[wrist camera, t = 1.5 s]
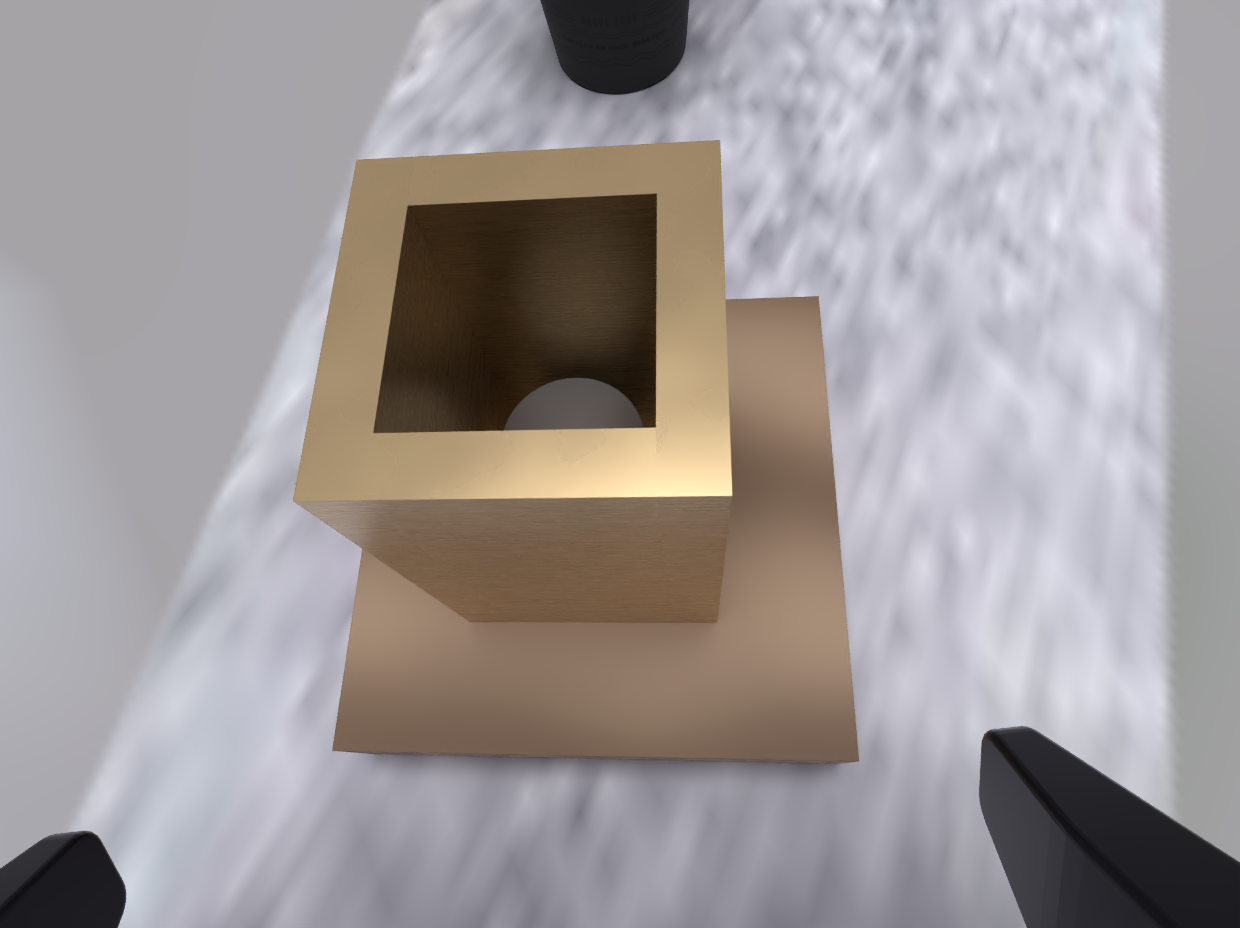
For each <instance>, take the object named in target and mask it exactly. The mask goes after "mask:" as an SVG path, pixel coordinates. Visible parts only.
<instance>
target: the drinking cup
mask: <svg viewBox="0 0 1240 928" xmlns="http://www.w3.org/2000/svg"><path fill="white" fill-rule="evenodd" d="M541 4H542V7H543V10H544V13H545V17H546V20H547V23H548V26H549V30H550V33H551V36H552V39H553V43H554V46H555V49H556V52H557V56H558V59H559V62H560V64H561V66H562V68H563V70H564V71H565V73H566V74H567V75H568V76H569V77H570V78H571V79H572V80H573V81H575V82H576V83H578V84H579V85H581V86H583V87H585V88H587V89H590V90H593V91H597V92H602V93H628V92H633V91H637V90H641V89H644V88H646V87H649V86H651V85H653V84H655V83H657V82H659V81H660V80H662V79H663V78H665V77H666V76H667V75H668V74H669V73H671V71H672V70H673V69H674V68H675V67H676V66H677V64H678V63H679V61H680V60H681V58H682V56H683V53H684V50H685V45H686V34H687V21H688V9H689V0H541Z"/></svg>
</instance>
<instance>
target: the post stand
mask: <svg viewBox="0 0 1240 928" xmlns="http://www.w3.org/2000/svg"><path fill="white" fill-rule="evenodd" d="M726 328H727V357H728V386H729V415H730V444H731V473H732V503H731V511H730V520H729V528H728V537H727V545H726V554H725V562H724V571H723V580H722V588H721V597H720V605H719V614H718V622H717V623H550V622H469V621H467V620H466V619H464V618H463V617H462V616H460V615H459V614H457V613H456V612H454V611H453V610H451V609H450V608H448V607H447V606H445V605H444V604H443V603H441V602H440V601H438V600H437V599H435V598H434V597H432V596H431V595H429V594H428V593H426V592H425V591H424V590H422V589H421V588H419V587H418V586H416V585H415V584H413V583H412V582H410V581H409V580H408V579H406V578H405V577H403V576H402V575H400V574H399V573H397V572H396V571H394V570H393V569H391V568H390V567H389V566H387V565H386V564H384V563H383V562H381V561H380V560H378V559H377V558H375V557H374V556H372V555H371V554H370V553H368V552H367V551H365V550H364V549H362V554H361V561H360V568H359V574H358V581H357V588H356V595H355V601H354V608H353V615H352V622H351V628H350V635H349V642H348V649H347V655H346V662H345V669H344V676H343V682H342V689H341V696H340V702H339V709H338V716H337V723H336V729H335V736H334V743H333V750H332V751H343V752H356V753H369V754H404V755H453V756H503V757H552V758H601V759H650V760H699V761H749V762H798V763H847V762H856V761H859V757H858V745H857V733H856V722H855V710H854V699H853V687H852V676H851V664H850V653H849V641H848V630H847V618H846V607H845V595H844V584H843V572H842V561H841V549H840V538H839V526H838V515H837V503H836V492H835V480H834V469H833V457H832V445H831V434H830V422H829V411H828V399H827V388H826V376H825V365H824V353H823V342H822V330H821V319H820V307H819V296H814V297H786V298H757V299H729V300H726ZM612 428H643V425H642V422H641V419H640V416H639V414H638V412H637V410H636V409H635V407H634V406H633V404H632V403H631V402H630V400H629V399H628V398H627V397H626V396H625V395H624V394H622V393H621V392H620V391H618V390H617V389H615V388H614V387H612V386H610V385H608V384H606V383H603V382H601V381H597V380H593V379H587V378H567V379H562V380H557V381H554V382H551V383H548V384H546V385H544V386H541V387H539V388H538V389H536V390H535V391H533V392H532V393H530V394H529V395H528V396H526V397H525V398H524V399H523V400H522V401H521V402H520V403H519V404H518V405H517V407H516V408H515V409H514V410H513V412H512V414H511V415H510V417H509V419H508V421H507V423H506V425H505V428H504V431H511V430H562V429H612Z"/></svg>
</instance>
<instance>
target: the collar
mask: <svg viewBox="0 0 1240 928" xmlns="http://www.w3.org/2000/svg"><path fill="white" fill-rule="evenodd" d="M567 378H587V379H593V380H597V381H601V382H603V383H606V384H608V385H610V386H612V387H614V388H615V389H617V390H618V391H620V392H621V393H622V394H624V395H625V396H626V397H627V398H628V399H629V400H630V402H631V403H632V404H633V406H634V407H635V409H636V410H637V412H638V414H639V416H640V419H641V422H642V425H643V428H612V429H562V430H511V431H504V428H505V425H506V423H507V421H508V419H509V417H510V415H511V414H512V412H513V410H514V409H515V408H516V407H517V405H518V404H519V403H520V402H521V401H522V400H523V399H524V398H525V397H526V396H528V395H529V394H530V393H532V392H533V391H535V390H536V389H538V388H539V387H541V386H544V385H546V384H548V383H551V382H554V381H557V380H562V379H567ZM293 501H294V502H295V503H297V504H298V505H300V506H301V507H302V508H304V509H305V510H307V511H308V512H310V513H311V514H313V515H314V516H316V517H317V518H319V519H320V520H321V521H323V522H324V523H326V524H327V525H329V526H330V527H332V528H333V529H335V530H336V531H337V532H339V533H340V534H342V535H343V536H345V537H346V538H348V539H349V540H351V541H352V542H354V543H355V544H356V545H358V546H359V547H361V548H362V549H364V550H365V551H367V552H368V553H370V554H371V555H372V556H374V557H375V558H377V559H378V560H380V561H381V562H383V563H384V564H386V565H387V566H389V567H390V568H391V569H393V570H394V571H396V572H397V573H399V574H400V575H402V576H403V577H405V578H406V579H408V580H409V581H410V582H412V583H413V584H415V585H416V586H418V587H419V588H421V589H422V590H424V591H425V592H426V593H428V594H429V595H431V596H432V597H434V598H435V599H437V600H438V601H440V602H441V603H443V604H444V605H445V606H447V607H448V608H450V609H451V610H453V611H454V612H456V613H457V614H459V615H460V616H462V617H463V618H464V619H466V620H467V621H469V622H550V623H717V622H718V614H719V605H720V597H721V588H722V580H723V571H724V562H725V554H726V545H727V537H728V528H729V520H730V511H731V503H732V473H731V444H730V415H729V386H728V357H727V328H726V299H725V270H724V241H723V212H722V183H721V154H720V140H715V141H696V142H678V143H659V144H641V145H622V146H604V147H585V148H567V149H549V150H530V151H512V152H493V153H475V154H456V155H438V156H419V157H401V158H382V159H364V160H357V161H356V166H355V171H354V177H353V182H352V187H351V193H350V198H349V203H348V209H347V214H346V219H345V225H344V230H343V235H342V241H341V246H340V251H339V257H338V262H337V268H336V273H335V278H334V284H333V289H332V294H331V300H330V305H329V310H328V316H327V321H326V326H325V332H324V337H323V342H322V348H321V353H320V358H319V364H318V369H317V374H316V380H315V385H314V391H313V396H312V401H311V407H310V412H309V417H308V423H307V428H306V433H305V439H304V444H303V449H302V455H301V460H300V465H299V471H298V476H297V481H296V487H295V492H294V497H293Z"/></svg>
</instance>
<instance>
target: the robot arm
mask: <svg viewBox="0 0 1240 928" xmlns="http://www.w3.org/2000/svg"><path fill="white" fill-rule="evenodd" d="M979 798H980V805H981V809H982V813H983V816H984V819H985V822H986V825H987V827H988V830H989V832H990V835H991V837H992V840H993V842H994V845H995V848H996V850H997V853H998V855H999V858H1000V860H1001V863H1002V865H1003V868H1004V870H1005V873H1006V876H1007V878H1008V881H1009V883H1010V886H1011V888H1012V891H1013V893H1014V896H1015V899H1016V901H1017V904H1018V906H1019V909H1020V911H1021V914H1022V916H1023V919H1024V921H1025V924H1026V927H1027V928H1240V862H1238V861H1236V860H1235V859H1234V858H1232V857H1231V856H1229V855H1228V854H1226V853H1224V852H1223V851H1221V850H1220V849H1218V848H1217V847H1215V846H1214V845H1212V844H1211V843H1209V842H1208V841H1206V840H1204V839H1203V838H1201V837H1200V836H1198V835H1197V834H1195V833H1193V832H1192V831H1191V830H1189V829H1187V828H1186V827H1184V826H1183V825H1181V824H1180V823H1178V822H1177V821H1175V820H1174V819H1172V818H1171V817H1169V816H1167V815H1166V814H1164V813H1163V812H1161V811H1160V810H1158V809H1157V808H1155V807H1154V806H1152V805H1150V804H1149V803H1147V802H1146V801H1144V800H1143V799H1141V798H1140V797H1138V796H1137V795H1135V794H1133V793H1132V792H1130V791H1129V790H1127V789H1126V788H1124V787H1123V786H1121V785H1120V784H1118V783H1117V782H1115V781H1113V780H1112V779H1110V778H1109V777H1107V776H1106V775H1104V774H1103V773H1101V772H1100V771H1098V770H1096V769H1095V768H1093V767H1092V766H1090V765H1089V764H1087V763H1086V762H1084V761H1083V760H1081V759H1079V758H1078V757H1076V756H1075V755H1073V754H1072V753H1070V752H1069V751H1067V750H1066V749H1064V748H1063V747H1061V746H1059V745H1058V744H1056V743H1055V742H1053V741H1052V740H1050V739H1049V738H1047V737H1046V736H1044V735H1042V734H1041V733H1039V732H1038V731H1036V730H1034V729H1032V728H1029V727H1025V726H1019V727H1010V728H1001V729H992V730H989V731H987V732H986V733H985V734H984V736H983V739H982V747H981V766H980V785H979ZM125 903H126V889H125V884H124V882H123V880H122V878H121V876H120V874H119V873H118V871H117V869H116V867H115V865H114V863H113V861H112V860H111V858H110V856H109V854H108V852H107V850H106V849H105V847H104V845H103V843H102V841H101V840H100V838H99V837H98V836H97V835H96V834H94V833H92V832H90V831H78V832H69V833H60V834H54V835H51V836H48V837H46V838H44V839H42V840H40V841H39V842H37V843H36V844H35V845H33V846H32V847H30V848H29V849H28V850H26V851H25V852H23V853H22V854H20V855H19V856H17V857H16V858H15V859H13V860H12V861H10V862H9V863H8V864H6V865H5V866H3V867H2V868H0V928H118V926H119V923H120V920H121V918H122V915H123V912H124V909H125Z"/></svg>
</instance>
